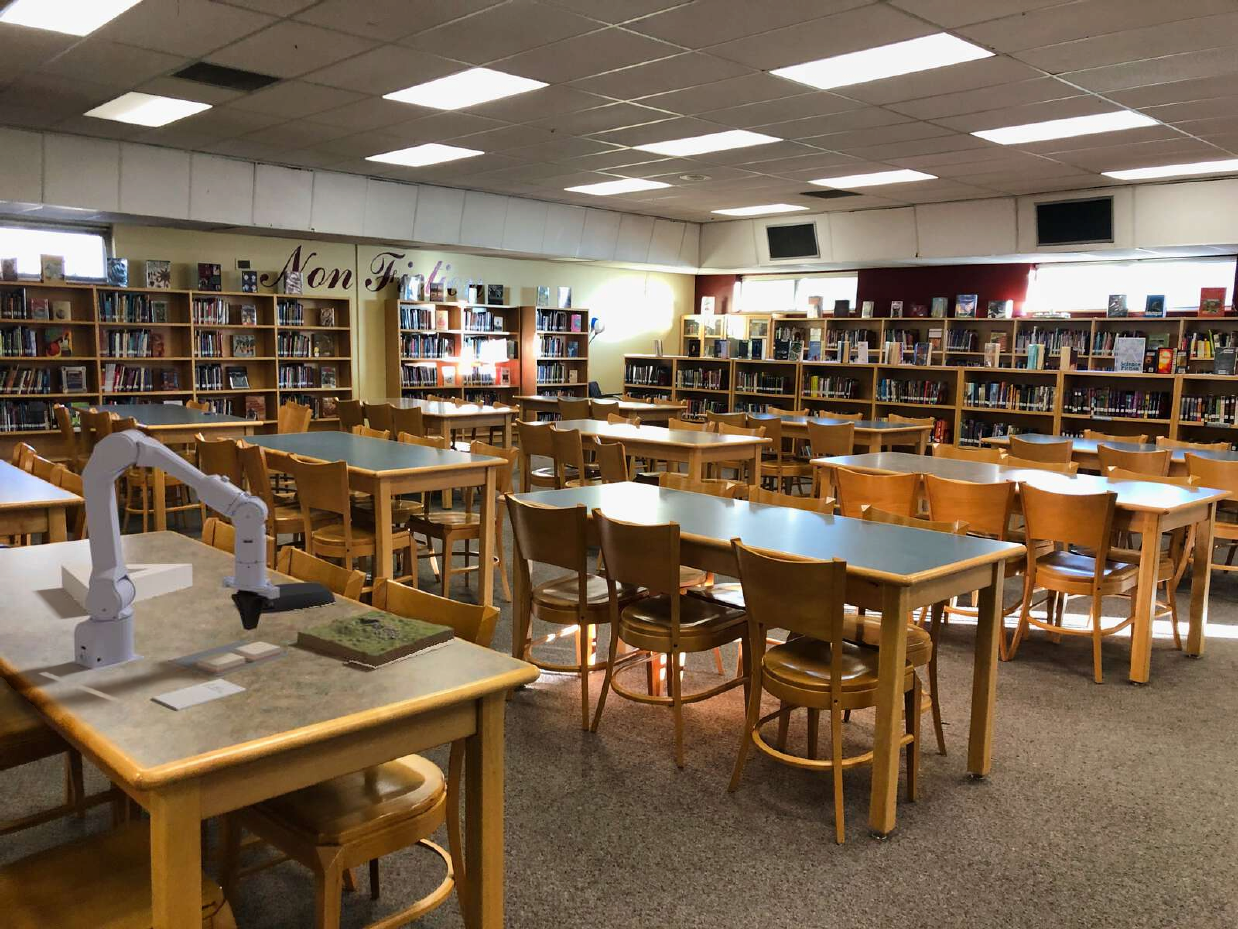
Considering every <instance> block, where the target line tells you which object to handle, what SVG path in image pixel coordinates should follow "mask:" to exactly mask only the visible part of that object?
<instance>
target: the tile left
mask: <svg viewBox="0 0 1238 929" xmlns="http://www.w3.org/2000/svg"><path fill="white" fill-rule="evenodd" d="M244 665H245V657H243V656H239V655H236V654H232V653H229V652H226V651H224V652H221V653H217V654H214V655H210V656H207V657H203V658H199V659H197V667H198V668H201V669H204V670H208V671H211V672H214V673H221V672H224V671H227V670H230V669H234V668H237V667H240V666H244Z"/></svg>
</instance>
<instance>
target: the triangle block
mask: <svg viewBox="0 0 1238 929" xmlns="http://www.w3.org/2000/svg"><path fill="white" fill-rule="evenodd" d="M124 564H125V563H124ZM125 565H126V567H127V568H128V571H129V577H130V579H131V580H132V582H133V583H134V585H135V587H136V596H135V598H134V600H133V601H132V602H131V603H132V604H134V602H135V603H138V601H139V602H142V601H145V600H144V599H146V600H149V599H152V597H153V598H155V597H154V596H156V597H160V596H163V595H166V594H165V593H167V594H169V593H168V592H170V593H172V592H173V591H174V592H177V591H180V590H179V589H181V590H184V589H187V587H188V588H190V586H191V587H193V563H153V564H152V563H151V564H149V563H148V564H147V563H142V564H140V563H139V564H138V563H135V564H133V563H132V564H128V563H127V564H125ZM60 566H61V588H62V589H63V590H64V589H65V590H66V591H67V592H68V593H69V594H70V595H71V596H72V597H73V598H74V599H76V601H77V602H76V601H75V602H76V603H78V602H79V603H78V604H79V606H81V607H82V608H83V609H84V610H85V609H86V605H85V600H86V597H87V595H88V592H89V578H90V575H91V572H92V564H61V565H60ZM65 590H64V591H65ZM176 590H177V591H176ZM66 591H65V592H66ZM67 592H66V593H67ZM174 592H173V593H174ZM68 593H67V594H68ZM69 594H68V595H69ZM70 595H69V596H70ZM71 596H70V597H71ZM72 597H71V598H72ZM73 598H72V599H73ZM74 599H73V600H74ZM141 600H142V601H141ZM131 603H130V605H132V604H131ZM86 610H87V609H86ZM86 610H85V611H86ZM86 612H87V613H88V614H89V612H88V611H86Z"/></svg>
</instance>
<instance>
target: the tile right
mask: <svg viewBox="0 0 1238 929" xmlns="http://www.w3.org/2000/svg"><path fill="white" fill-rule="evenodd" d="M280 652H281V646H279V645H275V644H272V643H268V642H264V641H260V640H259V641H257V642H252V643H250V644H249V645H245V646H242V647H238V648H235V649H234V654H236V655H239V656H243V657H245V660H249V661H252V662H257V661H260V660H263V659H267V658H270V657H273V656H277V655H280Z"/></svg>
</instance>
